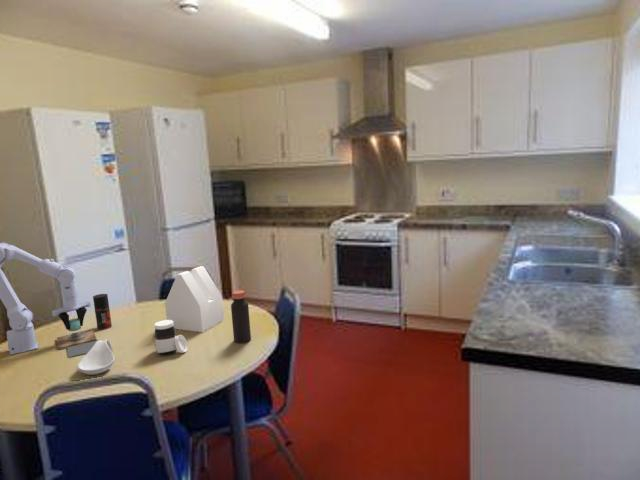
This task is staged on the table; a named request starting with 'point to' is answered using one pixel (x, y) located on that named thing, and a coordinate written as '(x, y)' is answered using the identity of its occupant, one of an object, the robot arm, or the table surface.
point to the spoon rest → (97, 358)
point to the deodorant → (102, 311)
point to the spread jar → (168, 339)
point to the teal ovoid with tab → (74, 324)
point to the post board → (75, 339)
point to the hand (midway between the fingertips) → (74, 327)
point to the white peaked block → (194, 301)
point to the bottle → (240, 317)
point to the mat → (80, 349)
